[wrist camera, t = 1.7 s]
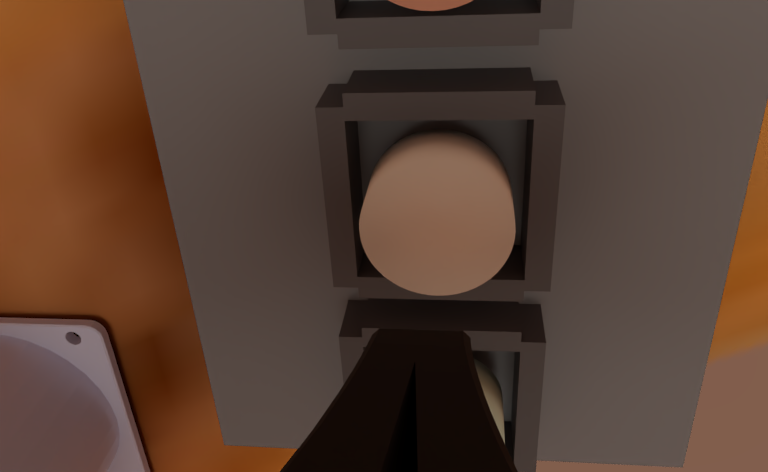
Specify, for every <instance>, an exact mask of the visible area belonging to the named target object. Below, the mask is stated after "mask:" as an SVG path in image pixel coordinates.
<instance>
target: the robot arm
mask: <svg viewBox="0 0 768 472" xmlns="http://www.w3.org/2000/svg"><path fill="white" fill-rule="evenodd" d="M73 332H74V333H76V334H78V335H79V336H80V337H78V336H76V335H75V334H74V333H73ZM0 472H150V469H149V466H148V462H147V459H146V456H145V453H144V449H143V446H142V443H141V440H140V437H139V433H138V430H137V427H136V424H135V420H134V417H133V414H132V411H131V407H130V404H129V401H128V398H127V394H126V391H125V388H124V385H123V381H122V378H121V375H120V372H119V369H118V365H117V362H116V359H115V356H114V352H113V349H112V346H111V343H110V339H109V336H108V333H107V331H106V329H105V327H103V326H102V325H101V324H100V323H98V322H96V321H93V320H80V319H43V318H7V317H0ZM280 472H518V471H517V469H516V467H515V465H514V463H513V461H512V458H511V456H510V454H509V452H508V450H507V448H506V446H505V443H504V441H503V439H502V436H501V434H500V432H499V429H498V427H497V425H496V422H495V420H494V418H493V415H492V413H491V411H490V408H489V405H488V403H487V400H486V398H485V395H484V392H483V389H482V386H481V383H480V380H479V377H478V373H477V370H476V366H475V362H474V358H473V353H472V348H471V338H470V337H469V336H468V335H467V334H466V333H465V332H464V331H454V330H417V329H381V328H379V329H378V330H377V331H376V332H375V333H374V334H372V336H371V338H370V340H369V342H368V344H367V346H366V348H365V350H364V351H363V353H362V355H361V357H360V359H359V360H358V362H357V364H356V365H355V367H354V369H353V370H352V372H351V374H350V375H349V377H348V378H347V380H346V382H345V383H344V385H343V386H342V388H341V390H340V391H339V393H338V394H337V396H336V397H335V398H334V400H333V401H332V403H331V404H330V406H329V407H328V409H327V410H326V411H325V413H324V414H323V416H322V417H321V419H320V420H319V422H318V423H317V424H316V426H315V427H314V429H313V430H312V431H311V433H310V434H309V435H308V437H307V438H306V439H305V441H304V442H303V443H302V444H301V446H300V447H299V448H298V449H297V451H296V452H295V453H294V454H293V456H292V457H291V458H290V460H289V461H288V462H287V463H286V465H285V466H284V467H283V468H282V470H281V471H280Z"/></svg>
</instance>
